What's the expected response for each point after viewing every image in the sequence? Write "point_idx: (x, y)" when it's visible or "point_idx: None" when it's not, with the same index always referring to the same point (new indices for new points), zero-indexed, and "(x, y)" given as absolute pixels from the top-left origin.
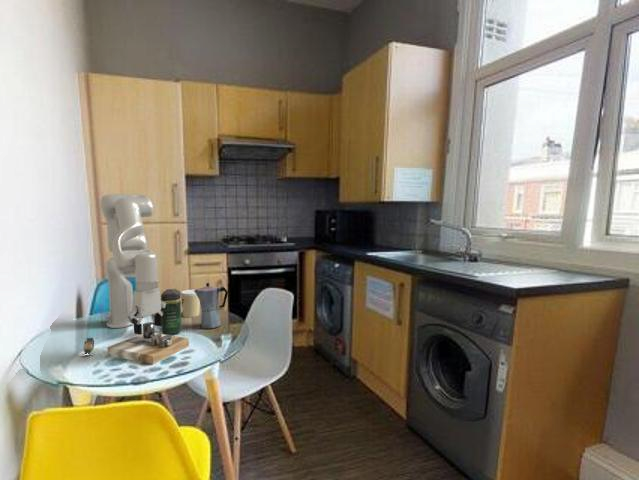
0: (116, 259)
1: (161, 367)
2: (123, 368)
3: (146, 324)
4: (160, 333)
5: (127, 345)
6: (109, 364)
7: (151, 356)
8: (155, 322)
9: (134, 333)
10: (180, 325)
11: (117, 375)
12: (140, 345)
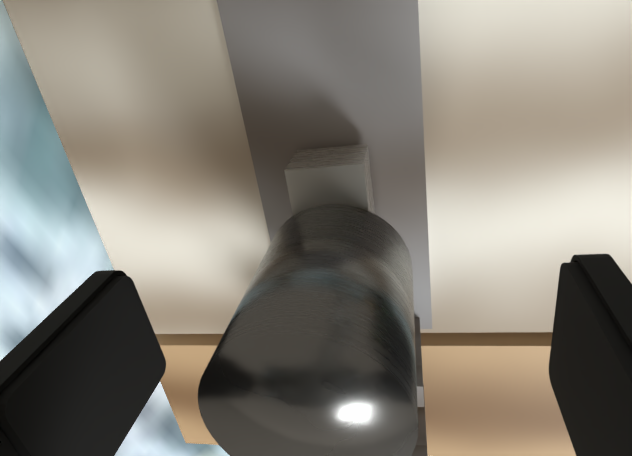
0: None
1: (217, 447)
2: (61, 288)
3: (259, 411)
4: (419, 397)
5: (154, 79)
6: (4, 147)
7: (184, 429)
8: (580, 321)
9: (103, 276)
10: None
11: (9, 329)
12: (243, 214)
